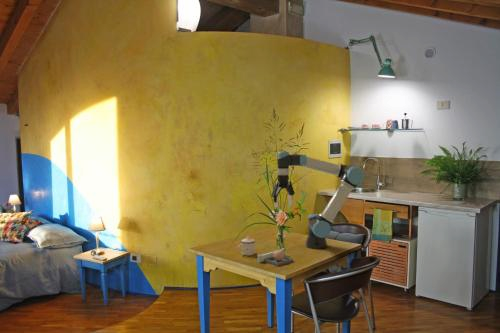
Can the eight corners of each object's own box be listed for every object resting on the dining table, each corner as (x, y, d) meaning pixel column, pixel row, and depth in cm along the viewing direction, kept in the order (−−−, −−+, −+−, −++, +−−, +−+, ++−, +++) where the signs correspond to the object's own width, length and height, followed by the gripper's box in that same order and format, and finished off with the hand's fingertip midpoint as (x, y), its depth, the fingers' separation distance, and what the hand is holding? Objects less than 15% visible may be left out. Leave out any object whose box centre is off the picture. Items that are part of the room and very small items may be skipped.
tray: (279, 257, 265) (279, 254, 265) (293, 261, 256) (293, 259, 256) (264, 261, 256) (264, 259, 256) (277, 266, 247) (277, 263, 247)
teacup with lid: (251, 251, 280) (250, 234, 279) (257, 254, 272) (257, 237, 271) (235, 253, 275) (235, 236, 274) (241, 257, 267) (241, 239, 266)
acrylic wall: (282, 255, 271) (282, 248, 270) (284, 255, 269) (284, 248, 269) (257, 262, 256) (257, 254, 255) (259, 262, 254) (259, 255, 254)
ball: (278, 258, 261) (278, 249, 260) (285, 261, 256) (286, 251, 255) (271, 260, 256) (271, 250, 256) (278, 263, 252) (278, 252, 251)
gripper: (291, 173, 285) (291, 203, 287) (265, 175, 269) (266, 207, 270) (299, 173, 280) (299, 204, 281) (273, 176, 263) (274, 208, 265)
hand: (283, 205), depth 276 cm, fingers open, 13 cm apart
